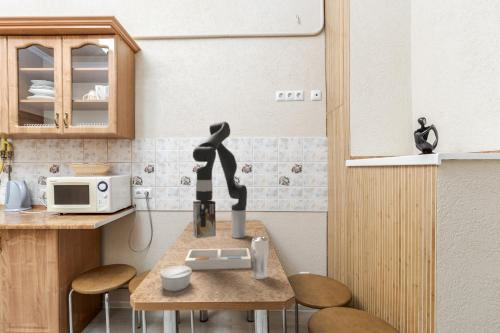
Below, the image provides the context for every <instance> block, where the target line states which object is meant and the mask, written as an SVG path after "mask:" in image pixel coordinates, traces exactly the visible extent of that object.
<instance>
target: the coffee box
mask: <svg viewBox="0 0 500 333" xmlns="http://www.w3.org/2000/svg"><path fill="white" fill-rule="evenodd" d="M200 204H201V201H199V200H195V201H193V202H192V209H193V210H192V213H193V214H192V218H193V219H192V220H193V221H192V225H193V226H192V230H193V231H192V234H193V235H192V236H194V237H195V238H196V239H202V238H203V239H205V238H211V237H212V238H213V237H216V236H217V235H216V233H217V232H216V229H217V228H216V225H217V224H216V220H217V219H216V201H214V200H207V202H206V209H207V214H206V226H205V227H201V219H200ZM202 210H204V209H202ZM202 215H204V214H203V213H202Z"/></svg>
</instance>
